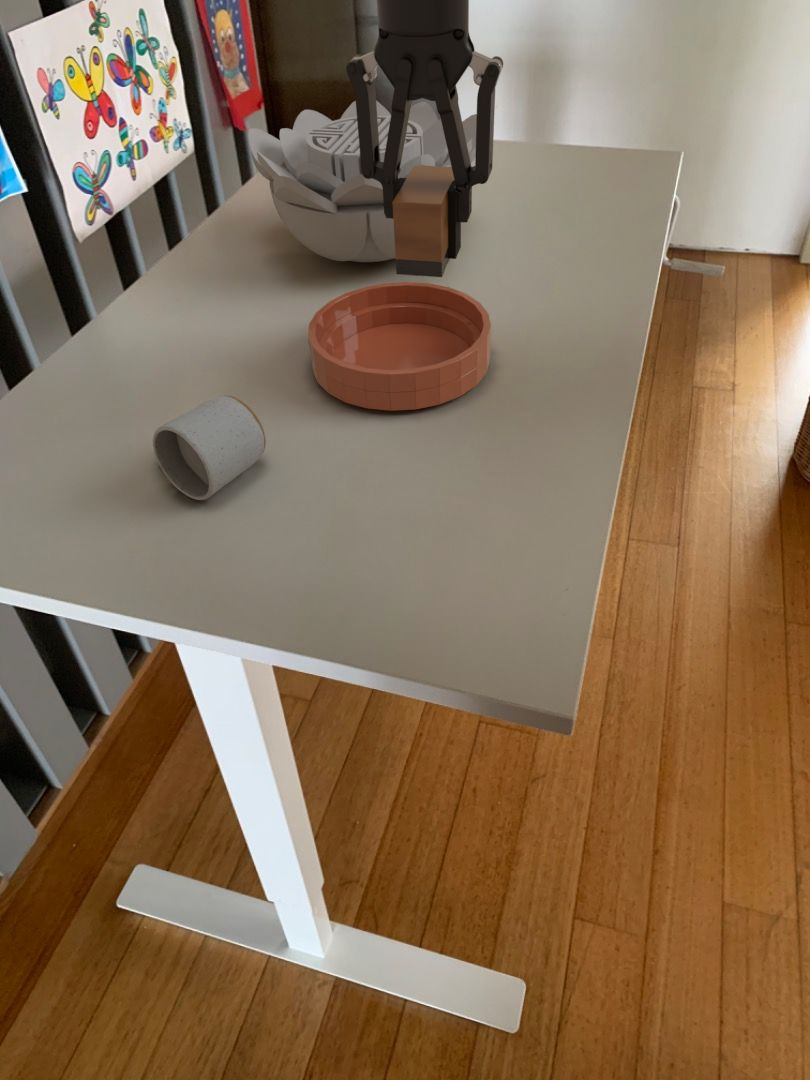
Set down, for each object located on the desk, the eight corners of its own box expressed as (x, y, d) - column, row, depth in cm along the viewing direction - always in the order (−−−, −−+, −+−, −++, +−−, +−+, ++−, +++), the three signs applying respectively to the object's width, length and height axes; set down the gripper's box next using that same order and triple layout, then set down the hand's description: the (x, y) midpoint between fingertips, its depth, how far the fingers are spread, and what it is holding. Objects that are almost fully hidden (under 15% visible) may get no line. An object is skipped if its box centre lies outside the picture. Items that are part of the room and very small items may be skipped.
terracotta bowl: (501, 327, 99) (503, 287, 96) (472, 423, 85) (473, 381, 82) (342, 315, 103) (338, 276, 100) (289, 405, 89) (283, 364, 86)
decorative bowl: (305, 197, 131) (291, 91, 120) (493, 210, 124) (496, 99, 114) (222, 287, 110) (197, 169, 100) (443, 309, 103) (441, 184, 93)
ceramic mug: (277, 465, 82) (263, 398, 77) (218, 512, 77) (199, 444, 72) (200, 433, 87) (182, 367, 81) (140, 475, 82) (117, 409, 77)
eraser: (416, 234, 87) (414, 165, 82) (459, 237, 86) (459, 166, 82) (396, 274, 81) (392, 201, 76) (442, 277, 80) (441, 204, 75)
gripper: (303, -19, 66) (333, 262, 83) (525, -19, 63) (511, 274, 79) (330, -38, 72) (353, 229, 88) (537, -39, 68) (522, 239, 84)
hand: (428, 250), depth 83 cm, fingers closed on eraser, 4 cm apart
